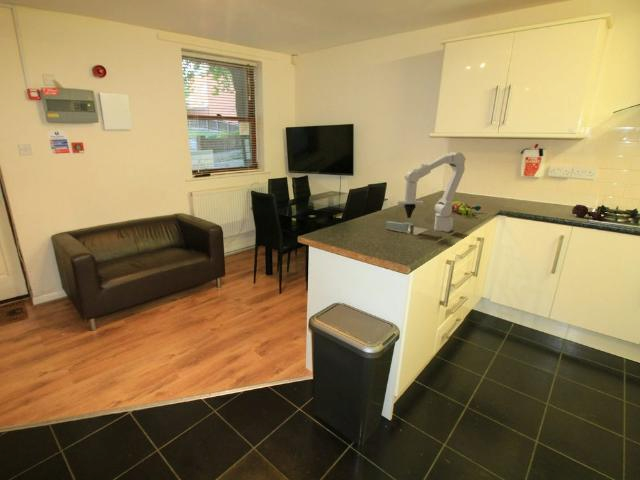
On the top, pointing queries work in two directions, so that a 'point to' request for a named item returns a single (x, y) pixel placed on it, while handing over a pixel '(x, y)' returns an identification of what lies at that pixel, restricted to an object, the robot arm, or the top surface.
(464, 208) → the toy
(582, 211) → the figurine
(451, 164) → the robot arm
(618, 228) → the top surface
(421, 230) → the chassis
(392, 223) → the swing arm
